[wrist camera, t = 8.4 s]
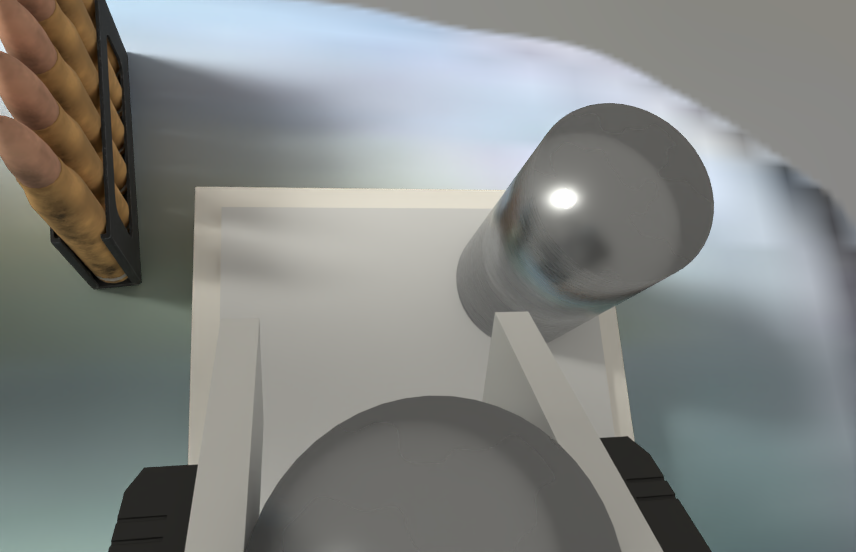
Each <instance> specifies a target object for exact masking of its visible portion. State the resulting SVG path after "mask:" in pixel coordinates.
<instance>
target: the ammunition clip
mask: <svg viewBox="0 0 856 552" xmlns="http://www.w3.org/2000/svg"><path fill="white" fill-rule="evenodd" d="M0 39H1V41H2V43H3V45H4V47H5V50H6V51H7V53H8V54H7V53H4V52H2V51H0V96H1V98H2V100H3V102H4V104H5V106H6V107H7V109H8V110H9V112H10V113H11V115H12V116H13V117H14V119H12V118H9V117H7V116H1V115H0V156H1V158H2V160H3V161H4V163H5V165H6V166H7V168H8V169H9V170H10V172H11V173H12V174H13V175H14V176H15V178H16V180H17V182H18V183H19V184H20V185H21V187H22V188H23V189H24V191H25V194H26V197H27V199H28V201H29V203H30V205H31V206H32V208H33V209H34V210H35V211H36V212H37V213H38V214H39V215H40V216H41V217H42V218H43V219H44V221H45V222H46V223H47V224H48V225H49V226H50V236H51V243H52V244H53V245H54V246H55V247H56V248H57V249H58V251H59V252H60V253H61V254H62V255H63V256H64V257H65V258H66V260H67V261H68V262H69V263H70V264H71V265H72V266H73V267H74V268H75V270H76V271H77V272H78V273H79V274H80V275H81V276H82V277H83V278H84V280H85V281H86V282H87V283H88V284H89V285H90V286H91V287H92V288H93V289H102V288H112V287H122V286H131V285H139V284H140V283H142V280H141V264H140V248H139V232H138V216H137V201H136V185H135V169H134V153H133V137H132V121H131V105H130V89H129V73H128V57H127V53H126V51H125V48H124V46H123V43H122V41H121V38H120V36H119V33H118V31H117V28H116V26H115V23H114V21H113V18H112V16H111V13H110V11H109V8H108V6H107V3H106V1H105V0H0Z"/></svg>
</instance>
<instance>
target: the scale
mask: <svg viewBox="0 0 856 552" xmlns="http://www.w3.org/2000/svg"><path fill="white" fill-rule="evenodd" d="M505 191H506V190H451V189H363V188H275V187H195V215H194V253H193V291H192V329H191V367H190V404H189V442H188V465H196V464H198V462H199V455H200V449H201V443H202V436H203V430H204V423H205V417H206V410H207V404H208V398H209V391H210V385H211V378H212V372H213V366H214V359H215V353H216V346H217V340H218V333H219V327H220V321H221V319H245V318H259V323H260V347H261V370H262V394H263V417H264V428H263V449H262V471H261V493H260V513H261V511H262V509H263V507H264V504H265V503H266V501H267V500H268V498H269V496H270V495H271V493H272V491H273V490H274V488H275V487H276V485H277V483H278V482H279V480H280V479H281V478H282V477H283V475H284V474H285V473H286V472H287V470H288V469H289V468H290V467H291V465H292V464H293V463H294V462H295V461H296V459H297V458H298V457H299V456H300V455H301V454H303V453H304V452H305V451H306V450H307V449H308V448H309V447H310V446H311V445H312V444H313V443H314V442H315V441H316V440H318V439H319V438H320V437H322V436H323V435H324V434H326V433H327V432H328V431H330V430H331V429H332V428H334V427H335V426H336V425H338V424H340V423H342V422H344V421H345V420H347V419H349V418H351V417H352V416H354V415H356V414H358V413H360V412H363V411H365V410H368V409H370V408H373V407H375V406H378V405H380V404H384V403H388V402H392V401H396V400H400V399H404V398H411V397H420V396H455V397H461V398H468V399H474V400H478V401H481V402H482V399H483V392H484V385H485V378H486V371H487V364H488V357H489V350H490V343H491V337H489V336H487V335H486V334H485V333H483V332H482V331H481V330H480V329H479V328H478V327H477V326H476V325H475V324H474V323H473V322H472V321H471V319H470V318H469V317H468V315H467V314H466V312H465V310H464V309H463V306H462V304H461V302H460V299H459V295H458V292H457V285H456V272H457V266H458V262H459V258H460V256H461V254H462V251H463V250H464V248H465V246H466V245H467V243H468V242H469V240H470V239H471V238H472V236H473V235H474V234H475V232H476V231H477V229H478V228H479V227H480V225H481V224H482V223H483V221H484V220H485V218H486V217H487V216H488V214H489V213H490V212H491V210H492V209H493V207H494V206H495V205H496V203H497V202H498V200H499V199H500V198H501V196H502V195H503V194H504V192H505ZM546 344H547V346H548V347H549V349H550V351H551V353H552V354H553V356H554V358H555V360H556V362H557V363H558V365H559V367H560V369H561V370H562V372H563V374H564V376H565V378H566V379H567V381H568V383H569V385H570V386H571V388H572V390H573V392H574V394H575V395H576V397H577V399H578V401H579V402H580V404H581V406H582V408H583V410H584V411H585V413H586V415H587V417H588V418H589V420H590V422H591V424H592V426H593V427H594V429H595V431H596V433H597V434H598V436H599V438H606V437H623V436H628V437H629V438H631V439H632V440H633V441H634V434H633V427H632V420H631V413H630V406H629V398H628V391H627V384H626V377H625V370H624V363H623V356H622V349H621V342H620V335H619V328H618V321H617V313H616V306H614V307H612V308H611V309H609V310H607V311H605V312H603V313H601V314H600V315H598V316H596V317H594V318H592V319H591V320H589V321H587V322H585V323H583V324H581V325H580V326H578V327H576V328H574V329H572V330H571V331H569V332H567V333H565V334H563V335H562V336H560V337H558V338H556V339H554V340H552V341H551V342H548V343H546ZM634 442H635V441H634Z"/></svg>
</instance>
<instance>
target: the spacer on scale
mask: <svg viewBox="0 0 856 552" xmlns="http://www.w3.org/2000/svg"><path fill="white" fill-rule="evenodd" d="M713 214H714V200H713V192H712V187H711V183H710V179H709V176H708V174H707V171H706V169H705V166H704V165H703V163H702V161H701V159H700V157H699V155H698V154H697V152H696V151H695V149H694V148H693V147H692V145H691V144H690V143H689V142H688V141H687V139H686V138H685V137H684V136H683V135H682V134H681V133H680V132H679V131H678V130H676V129H675V128H674V127H673V126H671V125H670V124H669V123H667V122H666V121H664V120H663V119H661V118H660V117H658V116H656V115H654V114H652V113H650V112H648V111H645V110H643V109H640V108H637V107H633V106H629V105H624V104H615V103H603V104H595V105H589V106H586V107H583V108H580V109H578V110H575V111H573V112H571V113H569V114H568V115H566V116H565V117H563V118H562V119H560V120H559V121H558V122H557V123H556V124H555V125H554V126H553V127H552V128H551V129H550V131H549V132H548V133H547V134H546V136H545V137H544V138H543V140H542V141H541V143H540V144H539V145H538V147H537V148H536V149H535V151H534V152H533V154H532V155H531V156H530V158H529V159H528V160H527V162H526V163H525V165H524V166H523V167H522V169H521V170H520V172H519V173H518V174H517V176H516V177H515V178H514V180H513V181H512V183H511V184H510V185H509V187H508V188H507V189H506V191H505V192H504V194H503V195H502V196H501V198H500V199H499V200H498V202H497V203H496V205H495V206H494V207H493V209H492V210H491V212H490V213H489V214H488V216H487V217H486V218H485V220H484V221H483V223H482V224H481V225H480V227H479V228H478V229H477V231H476V232H475V234H474V235H473V236H472V238H471V239H470V240H469V242H468V243H467V245H466V246H465V248H464V250H463V251H462V254H461V256H460V258H459V262H458V266H457V272H456V285H457V292H458V295H459V299H460V302H461V304H462V306H463V309H464V310H465V312H466V314H467V315H468V317H469V318H470V319H471V321H472V322H473V323H474V324H475V325H476V326H477V327H478V328H479V329H480V330H481V331H482V332H483V333H485V334H486V335H487V336H489V337H491V336H492V329H493V322H494V315H495V312H526V311H528V312H529V314H530V315H531V317H532V319H533V321H534V322H535V324H536V326H537V328H538V330H539V331H540V333H541V335H542V337H543V338H544V340H545V342H546V343H548V342H551V341H552V340H554V339H556V338H558V337H560V336H562V335H563V334H565V333H567V332H569V331H571V330H572V329H574V328H576V327H578V326H580V325H581V324H583V323H585V322H587V321H589V320H591V319H592V318H594V317H596V316H598V315H600V314H601V313H603V312H605V311H607V310H609V309H611V308H612V307H614V306H616V305H618V304H620V303H621V302H623V301H625V300H627V299H629V298H630V297H632V296H634V295H636V294H638V293H640V292H641V291H643V290H645V289H647V288H649V287H650V286H652V285H654V284H656V283H658V282H659V281H661V280H663V279H665V278H667V277H669V276H670V275H672V274H674V273H676V272H677V271H679V270H681V269H683V268H684V267H685V266H686V265H688V264H689V263H690V262H691V261H692V260H693V259H694V258H695V257H696V256H697V255H698V254H699V252H700V251H701V249H702V247H703V246H704V244H705V242H706V240H707V238H708V236H709V233H710V229H711V226H712V221H713Z"/></svg>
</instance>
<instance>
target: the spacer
mask: <svg viewBox="0 0 856 552" xmlns="http://www.w3.org/2000/svg"><path fill="white" fill-rule="evenodd" d="M246 552H621V548H620V545H619V542H618V539H617V535H616V532H615V529H614V526H613V524H612V521H611V519H610V517H609V514H608V512H607V510H606V508H605V505H604V503H603V501H602V500H601V498H600V496H599V494H598V493H597V491H596V489H595V488H594V486H593V484H592V483H591V481H590V479H589V478H588V477H587V476H586V474H585V473H584V472H583V470H582V469H581V468H580V466H579V465H578V464H577V462H576V461H575V460H574V459H573V458H572V457H571V456H570V455H569V454H568V453H567V452H566V451H565V450H564V449H563V448H562V447H561V446H560V445H559V444H558V443H557V442H556V441H555V440H553V439H552V438H551V437H550V436H548V435H547V434H546V433H545V432H543V431H542V430H541V429H540V428H538V427H537V426H535V425H533V424H532V423H530V422H528V421H527V420H525V419H523V418H522V417H520V416H518V415H516V414H514V413H512V412H509V411H507V410H505V409H503V408H500V407H498V406H495V405H492V404H488V403H485V402H481V401H478V400H474V399H468V398H461V397H455V396H420V397H411V398H404V399H400V400H396V401H392V402H388V403H384V404H380V405H378V406H375V407H373V408H370V409H368V410H365V411H363V412H360V413H358V414H356V415H354V416H352V417H351V418H349V419H347V420H345V421H344V422H342V423H340V424H338V425H336V426H335V427H334V428H332V429H331V430H330V431H328V432H327V433H326V434H324V435H323V436H322V437H320V438H319V439H318V440H316V441H315V442H314V443H313V444H312V445H311V446H310V447H309V448H308V449H307V450H306V451H305V452H304V453H303V454H301V455H300V456H299V457H298V458H297V459H296V461H295V462H294V463H293V464H292V465H291V467H290V468H289V469H288V470H287V472H286V473H285V474H284V475H283V477H282V478H281V479H280V480H279V482H278V483H277V485H276V487H275V488H274V490H273V491H272V493H271V495H270V496H269V498H268V500H267V501H266V503H265V504H264V507H263V509H262V511H261V513H260V515H259V517H258V520H257V522H256V524H255V526H254V528H253V530H252V534H251V537H250V540H249V543H248V546H247V549H246Z"/></svg>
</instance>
